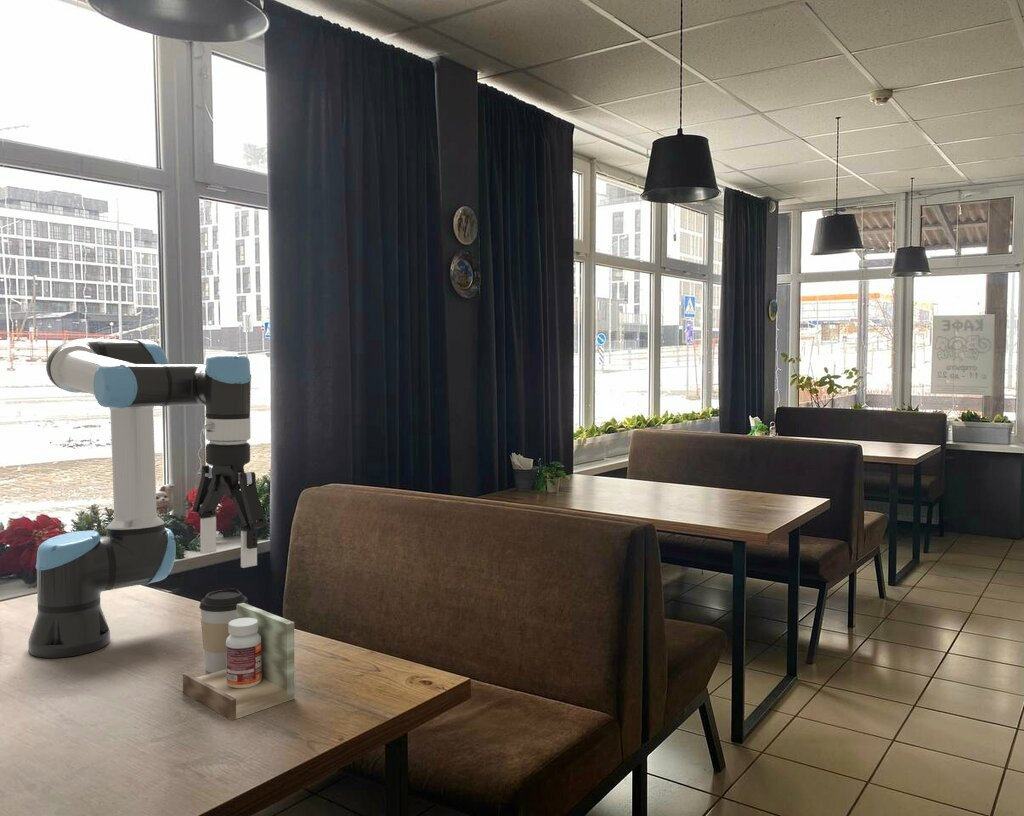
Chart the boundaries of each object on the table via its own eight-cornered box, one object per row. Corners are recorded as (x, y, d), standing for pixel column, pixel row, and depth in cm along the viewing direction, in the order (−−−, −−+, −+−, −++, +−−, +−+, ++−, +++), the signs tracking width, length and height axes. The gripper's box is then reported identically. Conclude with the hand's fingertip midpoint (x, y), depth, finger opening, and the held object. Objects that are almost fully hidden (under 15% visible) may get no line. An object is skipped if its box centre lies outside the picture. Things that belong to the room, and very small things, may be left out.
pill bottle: (263, 686, 148) (263, 624, 148) (227, 691, 146) (227, 629, 145) (259, 674, 154) (259, 615, 153) (224, 679, 152) (224, 618, 151)
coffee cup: (232, 677, 158) (232, 600, 157) (190, 673, 159) (189, 597, 158) (256, 660, 166) (256, 587, 165) (216, 656, 168) (215, 584, 167)
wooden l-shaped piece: (182, 692, 150) (182, 617, 149) (243, 673, 159) (243, 602, 159) (231, 720, 139) (231, 639, 138) (294, 698, 148) (294, 622, 147)
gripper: (173, 437, 152) (173, 550, 153) (247, 450, 136) (247, 576, 137) (211, 434, 158) (211, 544, 159) (286, 446, 141) (286, 568, 143)
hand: (228, 559), depth 148 cm, fingers open, 13 cm apart
